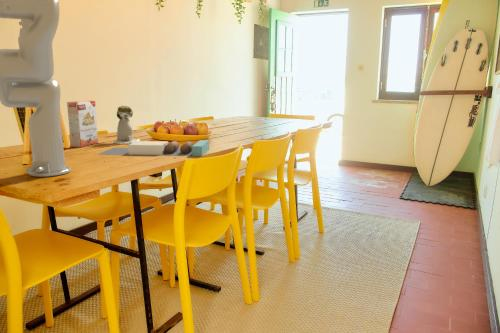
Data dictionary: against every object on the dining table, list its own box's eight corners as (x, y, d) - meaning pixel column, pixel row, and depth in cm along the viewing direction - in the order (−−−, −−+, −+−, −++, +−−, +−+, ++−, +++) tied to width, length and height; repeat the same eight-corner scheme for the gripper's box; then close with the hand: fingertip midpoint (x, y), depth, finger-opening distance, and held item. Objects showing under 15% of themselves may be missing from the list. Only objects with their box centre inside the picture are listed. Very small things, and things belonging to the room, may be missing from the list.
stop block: (202, 156, 156) (201, 146, 155) (192, 156, 157) (192, 146, 156) (209, 149, 172) (209, 140, 171) (200, 149, 172) (200, 140, 171)
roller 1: (173, 154, 161) (173, 144, 160) (164, 153, 161) (164, 144, 160) (179, 150, 170) (179, 141, 169) (170, 149, 170) (170, 140, 169)
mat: (202, 157, 156) (202, 156, 156) (97, 155, 160) (97, 154, 160) (209, 150, 172) (209, 149, 172) (113, 148, 175) (113, 147, 175)
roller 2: (191, 150, 160) (184, 142, 159) (184, 156, 161) (177, 149, 160) (196, 146, 168) (189, 139, 168) (189, 152, 169) (183, 145, 169)
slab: (162, 154, 159) (161, 145, 158) (128, 154, 159) (128, 144, 159) (168, 150, 169) (167, 141, 168) (136, 150, 169) (136, 141, 168)
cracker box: (81, 147, 178) (77, 101, 174) (70, 147, 179) (65, 101, 175) (99, 142, 192) (95, 100, 187) (88, 142, 193) (84, 100, 188)
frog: (108, 145, 186) (105, 106, 182) (121, 140, 198) (119, 104, 194) (131, 145, 184) (128, 106, 180) (143, 141, 196) (141, 105, 192)
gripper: (7, 23, 139) (14, 75, 143) (47, 23, 138) (52, 76, 142) (21, 26, 146) (27, 76, 150) (58, 26, 145) (63, 76, 149)
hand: (39, 75), depth 146 cm, fingers closed
